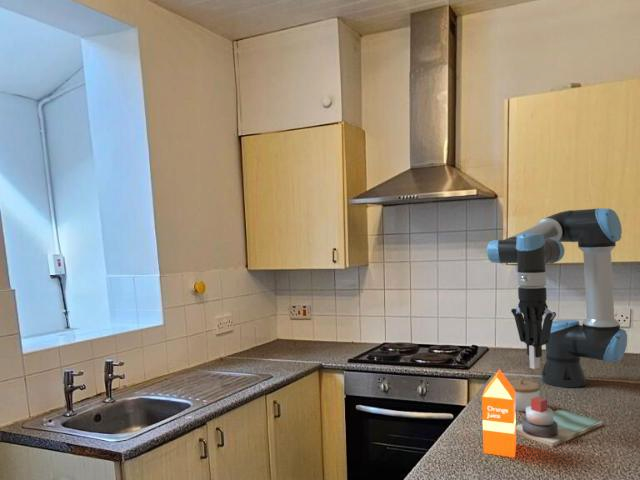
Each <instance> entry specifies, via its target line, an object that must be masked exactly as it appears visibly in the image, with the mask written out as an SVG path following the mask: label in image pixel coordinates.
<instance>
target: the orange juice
mask: <svg viewBox="0 0 640 480" xmlns="http://www.w3.org/2000/svg"><path fill="white" fill-rule="evenodd" d="M481 402H482V403H481V404H482V407H481V409H482V439H483V440H482V442H483V454H489V455H497V456H503V457H509V458H515V457H516V451H517V450H516V449H517V434H516V424H517V423H516V422H517V420H516V419H517V417H516V416H517V415H516V414H517V413H516V410H515V406H516V405H515V390H514V388H513V387H512V386H511V384H510V383H509V380H508V378H507V377H506V376H505V374H504V373H503V372H502V370H501V369H500V368H499V369H498V371H497V373H496V374H495V375H494V376H493V377H492V379H491V380H490V382H489V383H488V384H487V385H486V386H485V388H484V391H483V393H482V396H481Z"/></svg>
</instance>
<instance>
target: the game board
mask: <svg viewBox="0 0 640 480" xmlns="http://www.w3.org/2000/svg"><path fill="white" fill-rule="evenodd" d="M521 421H522V422H521V423H520V424H519V423H518V424H517V425H516V435H519V436H522V437H524V438H527V439H530V440H533V441H535V442H538V443H541V444H544V445H545V446H549V447H552V448H554V447H555V446H558V445H560V444H563V443H564V442H568V441H569V440H572V439H574V438H576V437H579V436H580V435H581V436H582V435H584V434H586V433H588V432H590V431H592V430H596V429H597V428H598V427H602V426H603V421H601V420H599V419H596V418H592V417H589V416H586V415H582V414H579V413H576V412H572V411H568V410H564V409H557V410H553V424H551V425H536V424H532V423H530V422H528V421H527V420H526V417H524V418H522V420H521Z"/></svg>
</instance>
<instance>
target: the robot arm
mask: <svg viewBox="0 0 640 480" xmlns="http://www.w3.org/2000/svg"><path fill="white" fill-rule="evenodd" d="M622 232H623V231H622V223H621V219H620V218H619V216H618V213H617V212H616V211H615V210H614V209H612V208H599V207H598V208H587V209H576V210H575V209H573V210H572V209H571V210H570V209H569V210H564V211H560V212H557V213H554V214H552V215H549V216H547V217H545V218H542V219H541V220H539V221H538V222H537V224H536V225H534V226H531V227H529V228H527V229H525V230H522V231H521V232H519V233H516V234H515V235H512V236H510V237H507V238H505V239H493V240H490V241H489V242H488V244H487V246H486V256H487V259H488V260H489V261H490V262H491V263H493V264H494V263H496V264H517V266H516V267H517V285H518V286H519V287H518V288H517V292H518V293H517V294H518V301H519V302H518V303H517V305H518V306H516V307H514V308H512V309H511V310H510V311H511V313H512V316H514V320H515V324H516V329H517V333H518V336H519V337H518V338H519V340H520V342H522V343H524V344H526V355H527V356H529V368H530V369H533V370H536V369H539V368H541V358H542V357H543V350H542V349H543V346H544V345H545V362H544V365H543V369H542V371H541V381H542V382H543V383H545V384H548V385H551V386H556V387H562V388H580V387H581V388H582V387H584V386H586V385H587V377H586V374H585V371H584V370H583V367H582V364H581V358H585V359H592V360H596V361H603V362H610V363H611V362H613V363H614V362H615V363H616V362H619V361H621V359H622V358H624V355H625V353H626V350H627V349H626V348H627V343H628V334H627V331H626V330H625V329H623V328H621V323H620V322H619V321H618V320H617V319H616V318H615V306H614V302H615V301H614V287H613V286H614V285H613V267H612V250H614V249H615V248H616V244H617V242H620V240H621V239H622ZM563 243H577V247H578V249H579V250H581V251H582V254H583V266H584V267H583V268H584V269H583V271H584V287H585V289H584V290H585V291H584V292H585V308H586V318H585V319H584V320H583V321H582V324H580V321H579V320H576V319H562V320H554V319H555V318H556V317H557V313H556V312H555V311H551V310H550V309H549V307H548V304H547V297H548V296H547V288H546V287H545V286H546V285H547V273H546V265H549V264H551V265H552V264H555V263H558V262H560V261H561V260H562V259H563V257H564V255H565V251H566V250H565V246H564V245H563ZM543 317H544V318H543ZM543 319H544V320H543ZM542 323H543V324H542Z"/></svg>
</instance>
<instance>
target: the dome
mask: <svg viewBox="0 0 640 480" xmlns="http://www.w3.org/2000/svg"><path fill="white" fill-rule="evenodd" d="M553 412H554V410H553V409H552V408H551V407H548V399H547V398H543V397H540V396H539V397H535V398H532V399H531V406H528V407H526V411H525V418H526V420H527V421H528V422H530V423H532V424H536V425H551V424H553Z"/></svg>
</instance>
